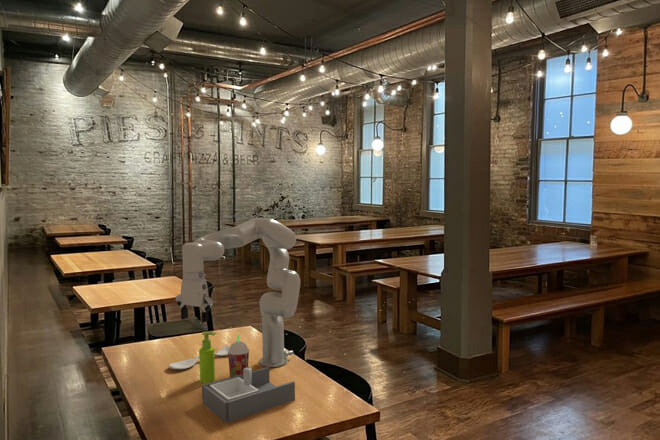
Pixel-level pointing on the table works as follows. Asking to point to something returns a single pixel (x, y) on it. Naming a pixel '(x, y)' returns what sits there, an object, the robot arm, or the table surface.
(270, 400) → the bay
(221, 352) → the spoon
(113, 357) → the table surface
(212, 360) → the soap dispenser
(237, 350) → the smoothie
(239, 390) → the drawer
